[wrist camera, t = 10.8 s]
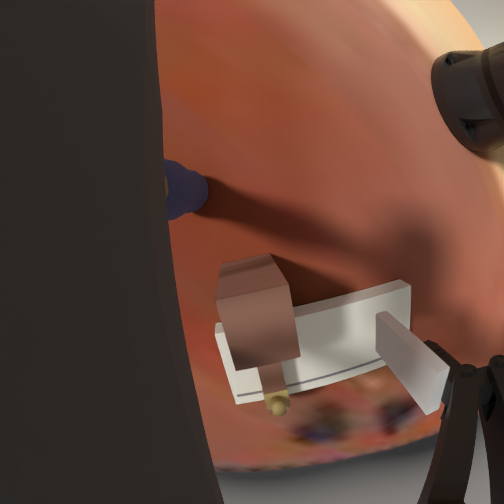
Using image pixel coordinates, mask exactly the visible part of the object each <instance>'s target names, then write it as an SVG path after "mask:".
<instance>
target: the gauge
mask: <svg viewBox="0 0 504 504" xmlns="http://www.w3.org/2000/svg"><path fill="white" fill-rule="evenodd" d="M215 301H216V305H217V308H218V312H219V316H220V319H221V323H222V326H223V330H224V333H225V337H226V340H227V344H228V347H229V350H230V354H231V357H232V360H233V364H234V367H235V370H236V371H240V370H245V369H250V368H255V367H257V369H258V373H259V377H260V381H261V385H262V390H263V396H264V400H265V403H266V407H267V410H268V411H269V414H271V413H273V414H274V415H275V416H283V415H284V414H285V413H286V410H289V409H290V400H289V395H288V390H287V387H286V383H285V380H284V375H283V370H282V365H281V362H282V361H287V360H291V359H295V358H299V357H301V354H300V348H299V342H298V336H297V330H296V323H295V318H294V312H293V306H292V300H291V294H290V289H289V284H288V282H287V281H286V279H285V277H284V276H283V274H282V273H281V271H280V269H279V268H278V266H277V264H276V263H275V261H274V260H273V258H272V256H271V255H270V253H268V254H263V255H259V256H254V257H250V258H245V259H241V260H236V261H232V262H227V263H222V264H221V266H220V273H219V279H218V286H217V292H216V299H215Z"/></svg>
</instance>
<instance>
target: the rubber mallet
mask: <svg viewBox="0 0 504 504" xmlns="http://www.w3.org/2000/svg"><path fill="white" fill-rule="evenodd" d="M208 194H209V192H208V183H207V182H206V180H205V178H204V177H202V176H201V175H200V174H198V173H197V172H196V171H192V170H187V169H186V168H185V167H183V166H182V165H181V164H179V163H178V162H175V161H172V160H167V159H164V156H163V126H162V105H161V96H160V86H159V76H158V64H157V50H156V34H155V10H154V0H0V504H224V501H223V497H222V494H221V491H220V487H219V484H218V481H217V477H216V473H215V470H214V466H213V462H212V458H211V454H210V451H209V447H208V443H207V438H206V434H205V430H204V426H203V421H202V417H201V412H200V407H199V403H198V398H197V394H196V390H195V385H194V381H193V376H192V372H191V367H190V362H189V357H188V352H187V347H186V342H185V337H184V331H183V326H182V320H181V314H180V308H179V302H178V295H177V289H176V282H175V275H174V267H173V260H172V251H171V243H170V234H169V224H168V220H173V219H176V218H178V217H180V216H182V215H183V214H185V213H189V212H195V211H197V210H198V209H200V208H201V207H202V205H203V204H204V203H205V201H206V200H207V198H208Z"/></svg>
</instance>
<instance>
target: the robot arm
mask: <svg viewBox="0 0 504 504" xmlns="http://www.w3.org/2000/svg"><path fill="white" fill-rule="evenodd" d="M431 82H432V89H433V93H434V97H435V100H436V103H437V106H438V108H439V111H440V113H441V115H442V117H443V119H444V121H445V122H446V124H447V126H448V127H449V129H450V130H451V132H452V133H453V135H454V136H455V137H456V138H457V139H458V140H459V141H460V142H461V143H462V144H463V145H464V146H465V147H467V148H468V149H470V150H472V151H475V152H489V151H493V150H496V149H497V148H499V147H501V146H502V145H504V42H502V43H500V44H497V45H495V46H493V47H490V48H488V49H486V50H483V51H451V52H448V53H446V54H444V55H442V56H440V57H438V58H437V59H436V60H435V62H434V64H433V66H432V71H431ZM375 351H376V352H377V353H378V354H379V356H380V357H381V358H382V359H383V361H384V362H385V363H386V364H387V366H388V367H389V368H390V369H391V371H392V372H393V373H394V374H395V376H396V377H397V378H398V379H399V381H400V382H401V383H402V384H403V386H404V387H405V388H406V390H407V391H408V392H409V393H410V395H411V396H412V397H413V399H414V400H415V401H416V402H417V404H418V405H419V406H420V408H421V409H422V410H423V411H424V413H425V414H426V415H428V414H430V413H432V412H434V411H436V410H438V409H439V406H440V403H441V401H442V402H443V403H444V404H445V407H444V410H443V413H442V416H441V419H442V421H441V426H440V431H439V435H438V439H437V443H436V448H435V451H434V455H433V459H432V462H431V465H430V469H429V472H428V475H427V478H426V481H425V484H424V487H423V490H422V492H421V495H420V498H419V500H418V503H417V504H465V503H464V497H465V493H466V489H467V484H468V480H469V475H470V470H471V465H472V459H473V453H474V446H475V439H476V429H477V418H478V410H479V415H480V419H481V424H482V429H483V434H484V439H485V446H486V452H487V460H488V468H489V479H490V496H491V504H504V356H503V355H496V356H493V357H492V358H491V359H490V361H489V365H488V366H485V367H481V368H476V367H475V366H473V365H470V364H462V365H461V364H460V363H459V362H458V361H457V360H455V359H454V358H453V357H452V356H451V355H450V354H448V353H446V351H445V350H444V349H442V347H440V346H439V345H438V344H437V343H435V342H432V341H430V340H427V341H425V342H422V341H421V340H420V339H418V338H417V337H416V336H415V335H414V334H413V333H412V332H411V331H409V330H408V329H407V328H406V327H405V326H404V325H403V324H401V323H400V322H399V321H398V320H397V319H396V318H395V317H393V316H392V315H391V314H390V313H389V312H388V311H383V312H379V313H376V344H375Z"/></svg>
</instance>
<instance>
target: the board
mask: <svg viewBox="0 0 504 504" xmlns="http://www.w3.org/2000/svg"><path fill="white" fill-rule="evenodd" d="M383 311H388V312H389V313H390V314H391V315H392V316H393V317H395V318H396V319H397V320H398V321H399V322H400V323H401V324H403V325H404V326H405V327H406V328H407V329H408V330H410V312H411V285H410V284H408V283H406V282H404V281H402V280H401V279H398V280H395V281H392V282H388V283H385V284H382V285H378V286H375V287H371V288H367V289H364V290H360V291H356V292H353V293H349V294H345V295H341V296H338V297H334V298H330V299H326V300H322V301H318V302H313V303H309V304H305V305H301V306H297V307H293V312H294V318H295V323H296V330H297V336H298V342H299V348H300V354H301V357H299V358H295V359H291V360H287V361H282V362H281V365H282V370H283V375H284V380H285V383H286V387H287V390H288V394H293V393H297V392H301V391H305V390H309V389H313V388H316V387H320V386H324V385H327V384H331V383H334V382H338V381H341V380H344V379H347V378H351V377H354V376H357V375H360V374H363V373H366V372H368V371H371V370H374V369H377V368H380V367H382V366H385V365H387V364H386V363H385V362H384V361H383V359H382V358H381V357H380V356H379V354H378V353H377V352H376V351H375V344H376V313H379V312H383ZM215 337H216V340H217V343H218V347H219V350H220V354H221V357H222V360H223V364H224V367H225V370H226V373H227V376H228V380H229V383H230V386H231V389H232V392H233V395H234V398H235V401H236V404H242V403H248V402H254V401H259V400H264V396H263V390H262V385H261V381H260V377H259V373H258V369H257V367H255V368H250V369H245V370H240V371H236V370H235V367H234V364H233V360H232V357H231V354H230V350H229V347H228V344H227V340H226V337H225V333H224V330H223V326H222V323H221V322H219V323H216V327H215Z"/></svg>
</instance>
